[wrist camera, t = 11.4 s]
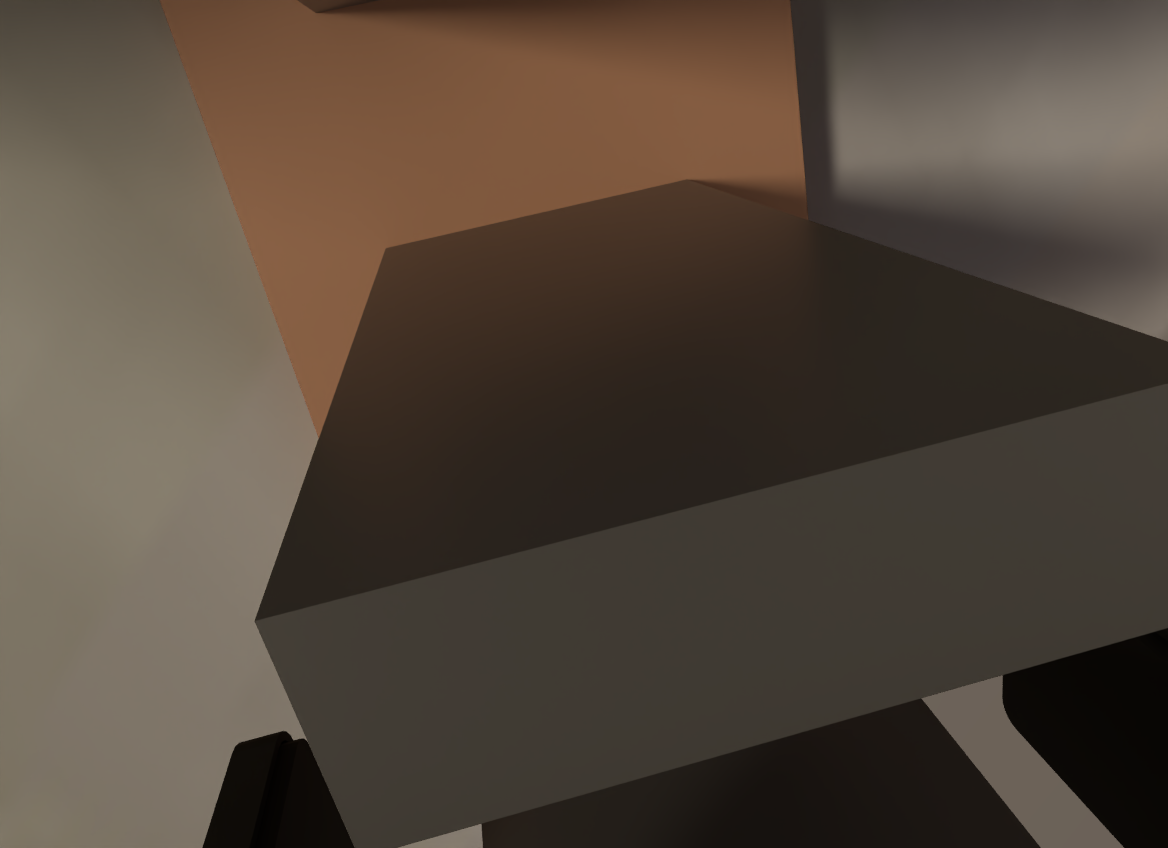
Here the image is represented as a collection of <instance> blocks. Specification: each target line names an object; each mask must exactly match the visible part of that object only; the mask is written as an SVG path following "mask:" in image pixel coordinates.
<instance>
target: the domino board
mask: <svg viewBox="0 0 1168 848" xmlns="http://www.w3.org/2000/svg"><path fill="white" fill-rule="evenodd" d="M160 2H161V5H162V8H163V11H164V13H165V16H166V19H167V22H168V24H169V27H170V30H171V33H172V35H173V38H174V41H175V44H176V46H177V49H178V52H179V55H180V57H181V60H182V63H183V66H184V68H185V71H186V74H187V77H188V79H189V82H190V85H191V88H192V90H193V93H194V96H195V99H196V101H197V104H198V107H199V110H200V113H201V115H202V118H203V121H204V124H205V126H206V129H207V132H208V135H209V137H210V140H211V143H212V146H213V148H214V151H215V154H216V157H217V159H218V162H219V165H220V168H221V170H222V173H223V176H224V179H225V181H226V184H227V187H228V190H229V192H230V195H231V198H232V201H233V203H234V206H235V209H236V212H237V214H238V217H239V220H240V223H241V225H242V228H243V231H244V234H245V236H246V239H247V242H248V245H249V247H250V250H251V253H252V256H253V258H254V261H255V264H256V267H257V269H258V272H259V275H260V278H261V280H262V283H263V286H264V289H265V291H266V294H267V297H268V300H269V302H270V305H271V308H272V311H273V313H274V316H275V319H276V322H277V324H278V327H279V330H280V333H281V335H282V338H283V341H284V344H285V346H286V349H287V352H288V355H289V358H290V360H291V363H292V366H293V369H294V371H295V374H296V377H297V380H298V382H299V385H300V388H301V391H302V393H303V396H304V399H305V402H306V404H307V407H308V410H309V413H310V415H311V418H312V421H313V424H314V426H315V429H316V432H317V435H318V437H319V436H320V434H321V431H322V428H323V425H324V422H325V419H326V417H327V414H328V411H329V408H330V405H331V402H332V400H333V397H334V394H335V391H336V388H337V385H338V382H339V380H340V377H341V374H342V371H343V368H344V365H345V363H346V360H347V357H348V354H349V351H350V348H351V345H352V343H353V340H354V337H355V334H356V331H357V328H358V326H359V323H360V320H361V317H362V314H363V311H364V308H365V306H366V303H367V300H368V297H369V294H370V291H371V289H372V286H373V283H374V280H375V277H376V274H377V271H378V269H379V266H380V263H381V260H382V257H383V254H384V252H385V249H386V248H389V247H393V246H397V245H402V244H406V243H410V242H415V241H419V240H424V239H428V238H432V237H437V236H441V235H446V234H450V233H454V232H459V231H463V230H467V229H472V228H476V227H481V226H485V225H489V224H494V223H498V222H502V221H507V220H511V219H516V218H520V217H524V216H529V215H533V214H537V213H542V212H546V211H551V210H555V209H559V208H564V207H568V206H572V205H577V204H581V203H586V202H590V201H594V200H599V199H603V198H607V197H612V196H616V195H621V194H625V193H629V192H634V191H638V190H642V189H647V188H651V187H656V186H660V185H664V184H669V183H673V182H677V181H682V180H686V179H688V180H691V181H694V182H696V183H699V184H702V185H705V186H708V187H711V188H714V189H717V190H720V191H723V192H726V193H729V194H732V195H735V196H738V197H741V198H744V199H747V200H750V201H753V202H756V203H759V204H762V205H765V206H768V207H771V208H773V209H776V210H779V211H782V212H785V213H788V214H791V215H794V216H797V217H800V218H803V219H806V220H808V209H807V197H806V185H805V173H804V161H803V149H802V136H801V124H800V112H799V100H798V88H797V76H796V64H795V52H794V40H793V28H792V16H791V4H790V0H378V1H373V2H368V3H363V4H359V5H354V6H349V7H344V8H339V9H334V10H329V11H325V12H320V13H315V12H314V11H312V10H311V9H309V8H308V7H306V6H305V5H303V4H302V3H300V2H299V1H297V0H160Z"/></svg>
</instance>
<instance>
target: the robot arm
mask: <svg viewBox="0 0 1168 848" xmlns="http://www.w3.org/2000/svg"><path fill="white" fill-rule="evenodd" d="M1002 697H1003V705H1004V708H1005V711H1006V713H1007V715H1008V718H1009V719H1010V721H1011V723H1012V724H1013V726H1014V727H1015V728H1016V729H1017V731H1018V732H1019V733H1020V734H1021V735H1022V736H1023V737H1024V738H1025V739H1026V740H1027V741H1028V743H1029V744H1030V745H1031V746H1032V747H1033V748H1034V749H1035V750H1036V751H1037V752H1038V754H1039V755H1040V756H1041V757H1042V758H1043V759H1044V760H1045V761H1046V762H1047V763H1048V765H1050V767H1051V768H1052V769H1053V770H1054V771H1055V772H1056V773H1057V774H1058V776H1059V777H1060V778H1061V779H1062V780H1063V781H1064V782H1065V783H1066V784H1067V785H1068V786H1069V788H1070V789H1071V790H1072V791H1073V792H1074V793H1075V794H1076V795H1077V796H1078V797H1079V799H1081V801H1082V802H1083V803H1084V804H1085V805H1086V806H1087V807H1088V808H1089V809H1090V811H1091V812H1092V813H1093V814H1094V815H1095V816H1096V817H1097V818H1098V819H1099V821H1100V822H1101V823H1102V824H1103V825H1104V826H1105V827H1106V828H1107V829H1108V830H1109V832H1110V833H1111V834H1112V835H1114V837H1115V838H1116V839H1117V840H1118V841H1119V842H1120V844H1122V845H1123V847H1124V848H1168V628H1166V629H1162V630H1159V631H1155V632H1152V633H1148V634H1145V635H1141V636H1138V637H1134V638H1131V639H1127V640H1124V641H1120V642H1117V643H1113V644H1110V645H1106V646H1103V647H1099V648H1096V649H1092V650H1089V651H1085V652H1082V653H1078V654H1075V655H1071V656H1068V657H1064V658H1061V659H1057V660H1054V661H1050V662H1047V663H1043V664H1040V665H1036V666H1033V667H1029V668H1026V669H1022V670H1019V671H1015V672H1012V673H1008V674H1005V675H1003V696H1002ZM203 848H355V847H354V845H353V843H352V840H351V838H350V836H349V834H348V831H347V829H346V827H345V825H344V822H343V820H342V818H341V816H340V813H339V811H338V809H337V807H336V804H335V802H334V800H333V798H332V795H331V793H330V791H329V788H328V786H327V784H326V782H325V779H324V777H323V775H322V773H321V770H320V768H319V766H318V764H317V761H316V759H315V757H314V755H313V752H312V750H311V748H310V746H309V744H308V742H307V741H306V740H305V739H298V740H294V741H293V739H292V737H291V735H290V734H289V733H287V732H286V731H281V732H278V733H274V734H270V735H267V736H263V737H259V738H256V739H252V740H248V741H245V742H241V743H239V744H238V745H236V746H235V748H234V751H233V753H232V756H231V759H230V762H229V765H228V768H227V772H226V775H225V778H224V781H223V784H222V787H221V791H220V794H219V797H218V800H217V803H216V806H215V810H214V813H213V816H212V819H211V822H210V826H209V829H208V832H207V835H206V838H205V841H204V845H203Z"/></svg>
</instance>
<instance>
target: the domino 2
mask: <svg viewBox="0 0 1168 848" xmlns="http://www.w3.org/2000/svg"><path fill="white" fill-rule="evenodd" d="M482 838H483V848H1040V846H1039V845H1038V844H1037V843H1036V841H1035V840H1034V839H1033V838H1032V836H1031V835H1030V834H1029V833H1028V831H1027V830H1026V829H1025V828H1024V826H1023V825H1022V824H1021V823H1020V822H1019V820H1018V819H1017V818H1016V816H1015V815H1014V814H1013V813H1012V812H1011V810H1010V809H1009V808H1008V806H1007V805H1006V804H1005V803H1004V801H1003V800H1002V799H1001V798H1000V796H999V795H998V794H997V793H996V791H995V790H994V789H993V788H992V786H991V785H990V784H989V783H988V781H987V780H986V779H985V778H984V776H983V775H982V774H981V772H980V771H979V770H978V769H977V768H976V766H975V765H974V764H973V763H972V761H971V760H970V759H969V758H968V756H967V755H966V754H965V752H964V751H963V750H962V749H961V748H960V746H959V745H958V744H957V743H956V741H955V740H954V739H953V737H952V736H951V735H950V734H949V733H948V731H947V730H946V729H945V727H944V726H943V725H942V724H941V722H940V721H939V720H938V719H937V718H936V716H935V715H934V714H933V713H932V711H931V710H930V709H929V707H928V706H927V705H926V704H925V703H924V701H923V700H922V699H921V698H920V699H917V700H913V701H910V702H906V703H903V704H899V705H896V706H892V707H889V708H885V709H882V710H878V711H875V712H871V713H868V714H864V715H861V716H857V717H854V718H850V719H847V720H843V721H840V722H836V723H833V724H829V725H826V726H822V727H819V728H815V729H812V730H808V731H805V732H801V733H798V734H794V735H791V736H787V737H784V738H780V739H776V740H773V741H769V742H766V743H762V744H759V745H755V746H752V747H748V748H745V749H741V750H738V751H734V752H731V753H727V754H724V755H720V756H717V757H713V758H710V759H706V760H703V761H699V762H696V763H692V764H689V765H685V766H682V767H678V768H675V769H671V770H668V771H664V772H661V773H657V774H654V775H650V776H647V777H643V778H640V779H636V780H633V781H629V782H626V783H622V784H619V785H615V786H612V787H608V788H605V789H601V790H598V791H594V792H591V793H587V794H584V795H580V796H576V797H573V798H569V799H566V800H562V801H559V802H555V803H552V804H548V805H545V806H541V807H538V808H534V809H531V810H527V811H524V812H520V813H517V814H513V815H510V816H506V817H503V818H499V819H496V820H492V821H489V822H485V823H482Z"/></svg>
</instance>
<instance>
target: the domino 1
mask: <svg viewBox="0 0 1168 848" xmlns="http://www.w3.org/2000/svg"><path fill="white" fill-rule="evenodd" d="M255 623H256V625H257V628H258V630H259V632H260V634H261V637H262V639H263V641H264V643H265V646H266V648H267V650H268V653H269V655H270V657H271V659H272V662H273V664H274V666H275V668H276V671H277V673H278V675H279V677H280V680H281V682H282V684H283V686H284V689H285V691H286V693H287V695H288V698H289V700H290V702H291V704H292V707H293V709H294V711H295V713H296V716H297V718H298V720H299V722H300V725H301V727H302V729H303V731H304V734H305V736H306V738H307V740H308V743H309V745H310V747H311V749H312V752H313V754H314V756H315V759H316V761H317V763H318V765H319V768H320V770H321V772H322V774H323V777H324V779H325V781H326V783H327V786H328V788H329V790H330V792H331V795H332V797H333V799H334V801H335V804H336V806H337V808H338V810H339V813H340V815H341V817H342V819H343V822H344V824H345V826H346V828H347V831H348V833H349V835H350V837H351V840H352V842H353V844H354V846H355V848H398V847H401V846H405V845H408V844H412V843H415V842H419V841H422V840H426V839H429V838H433V837H436V836H440V835H443V834H447V833H450V832H454V831H457V830H461V829H464V828H468V827H471V826H475V825H478V824H482V823H485V822H489V821H492V820H496V819H499V818H503V817H506V816H510V815H513V814H517V813H520V812H524V811H527V810H531V809H534V808H538V807H541V806H545V805H548V804H552V803H555V802H559V801H562V800H566V799H569V798H573V797H576V796H580V795H584V794H587V793H591V792H594V791H598V790H601V789H605V788H608V787H612V786H615V785H619V784H622V783H626V782H629V781H633V780H636V779H640V778H643V777H647V776H650V775H654V774H657V773H661V772H664V771H668V770H671V769H675V768H678V767H682V766H685V765H689V764H692V763H696V762H699V761H703V760H706V759H710V758H713V757H717V756H720V755H724V754H727V753H731V752H734V751H738V750H741V749H745V748H748V747H752V746H755V745H759V744H762V743H766V742H769V741H773V740H776V739H780V738H784V737H787V736H791V735H794V734H798V733H801V732H805V731H808V730H812V729H815V728H819V727H822V726H826V725H829V724H833V723H836V722H840V721H843V720H847V719H850V718H854V717H857V716H861V715H864V714H868V713H871V712H875V711H878V710H882V709H885V708H889V707H892V706H896V705H899V704H903V703H906V702H910V701H913V700H917V699H920V698H924V697H927V696H931V695H934V694H938V693H941V692H945V691H948V690H952V689H955V688H958V687H962V686H966V685H969V684H973V683H976V682H980V681H984V680H987V679H990V678H994V677H998V676H1001V675H1005V674H1008V673H1012V672H1015V671H1019V670H1022V669H1026V668H1029V667H1033V666H1036V665H1040V664H1043V663H1047V662H1050V661H1054V660H1057V659H1061V658H1064V657H1068V656H1071V655H1075V654H1078V653H1082V652H1085V651H1089V650H1092V649H1096V648H1099V647H1103V646H1106V645H1110V644H1113V643H1117V642H1120V641H1124V640H1127V639H1131V638H1134V637H1138V636H1141V635H1145V634H1148V633H1152V632H1155V631H1159V630H1162V629H1166V628H1168V342H1167V341H1164V340H1161V339H1158V338H1155V337H1152V336H1149V335H1147V334H1144V333H1141V332H1138V331H1135V330H1132V329H1129V328H1126V327H1123V326H1120V325H1117V324H1114V323H1111V322H1108V321H1105V320H1102V319H1099V318H1096V317H1093V316H1090V315H1087V314H1084V313H1081V312H1078V311H1075V310H1072V309H1070V308H1067V307H1064V306H1061V305H1058V304H1055V303H1052V302H1049V301H1046V300H1043V299H1040V298H1037V297H1034V296H1031V295H1028V294H1025V293H1022V292H1019V291H1016V290H1013V289H1010V288H1007V287H1004V286H1001V285H998V284H996V283H993V282H990V281H987V280H984V279H981V278H978V277H975V276H972V275H969V274H966V273H963V272H960V271H957V270H954V269H951V268H948V267H945V266H942V265H939V264H936V263H933V262H930V261H927V260H924V259H922V258H919V257H916V256H913V255H910V254H907V253H904V252H901V251H898V250H895V249H892V248H889V247H886V246H883V245H880V244H877V243H874V242H871V241H868V240H865V239H862V238H859V237H856V236H853V235H850V234H847V233H845V232H842V231H839V230H836V229H833V228H830V227H827V226H824V225H821V224H818V223H815V222H812V221H809V220H806V219H803V218H800V217H797V216H794V215H791V214H788V213H785V212H782V211H779V210H776V209H773V208H771V207H768V206H765V205H762V204H759V203H756V202H753V201H750V200H747V199H744V198H741V197H738V196H735V195H732V194H729V193H726V192H723V191H720V190H717V189H714V188H711V187H708V186H705V185H702V184H699V183H696V182H694V181H691V180H688V179H686V180H682V181H677V182H673V183H669V184H664V185H660V186H656V187H651V188H647V189H642V190H638V191H634V192H629V193H625V194H621V195H616V196H612V197H607V198H603V199H599V200H594V201H590V202H586V203H581V204H577V205H572V206H568V207H564V208H559V209H555V210H551V211H546V212H542V213H537V214H533V215H529V216H524V217H520V218H516V219H511V220H507V221H502V222H498V223H494V224H489V225H485V226H481V227H476V228H472V229H467V230H463V231H459V232H454V233H450V234H446V235H441V236H437V237H432V238H428V239H424V240H419V241H415V242H410V243H406V244H402V245H397V246H393V247H389V248H386V249H385V252H384V254H383V257H382V260H381V263H380V266H379V269H378V271H377V274H376V277H375V280H374V283H373V286H372V289H371V291H370V294H369V297H368V300H367V303H366V306H365V308H364V311H363V314H362V317H361V320H360V323H359V326H358V328H357V331H356V334H355V337H354V340H353V343H352V345H351V348H350V351H349V354H348V357H347V360H346V363H345V365H344V368H343V371H342V374H341V377H340V380H339V382H338V385H337V388H336V391H335V394H334V397H333V400H332V402H331V405H330V408H329V411H328V414H327V417H326V419H325V422H324V425H323V428H322V431H321V434H320V436H319V439H318V442H317V445H316V448H315V451H314V454H313V456H312V459H311V462H310V465H309V468H308V471H307V473H306V476H305V479H304V482H303V485H302V488H301V491H300V493H299V496H298V499H297V502H296V505H295V508H294V510H293V513H292V516H291V519H290V522H289V525H288V528H287V530H286V533H285V536H284V539H283V542H282V545H281V547H280V550H279V553H278V556H277V559H276V562H275V565H274V567H273V570H272V573H271V576H270V579H269V582H268V584H267V587H266V590H265V593H264V596H263V599H262V602H261V604H260V607H259V610H258V613H257V616H256V619H255Z"/></svg>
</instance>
